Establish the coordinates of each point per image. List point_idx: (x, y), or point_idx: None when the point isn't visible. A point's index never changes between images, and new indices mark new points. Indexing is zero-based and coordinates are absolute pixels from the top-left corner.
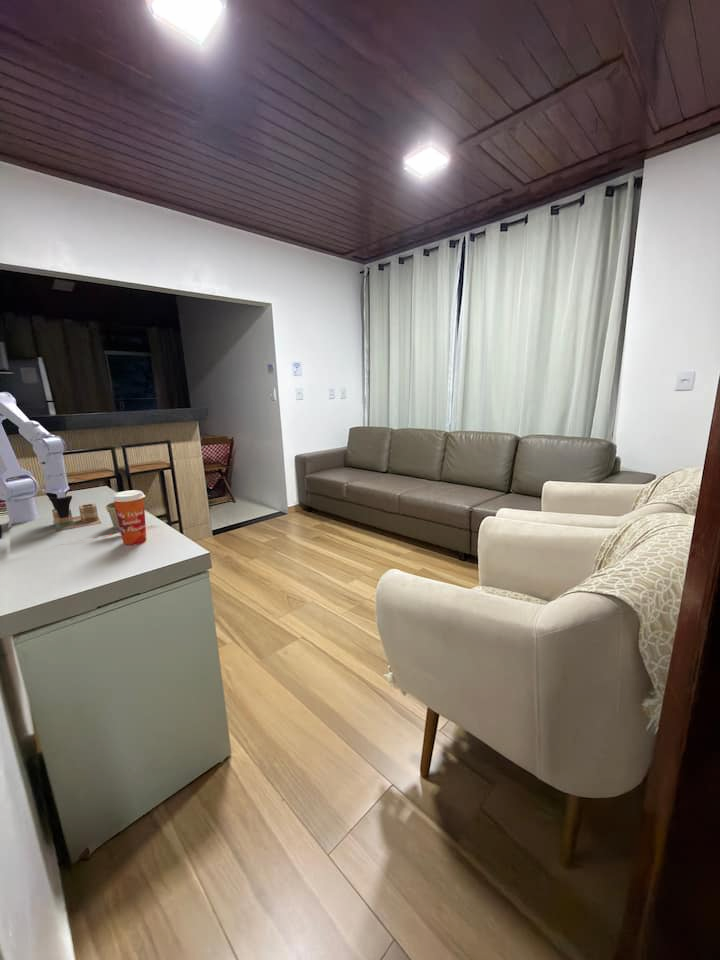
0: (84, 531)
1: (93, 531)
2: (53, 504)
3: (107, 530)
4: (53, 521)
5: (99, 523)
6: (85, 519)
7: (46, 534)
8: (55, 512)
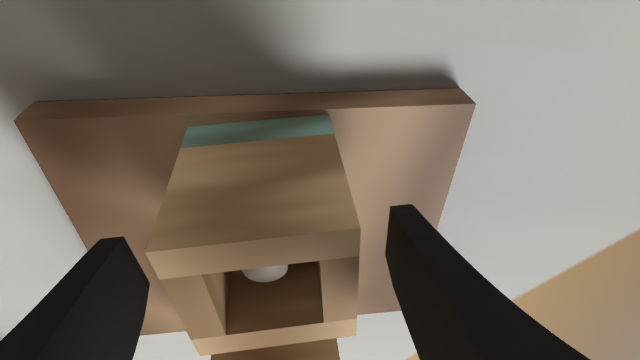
0: (71, 251)
1: (46, 286)
2: (442, 296)
3: None
4: (439, 105)
5: None
6: None
7: (113, 20)
8: (151, 263)
